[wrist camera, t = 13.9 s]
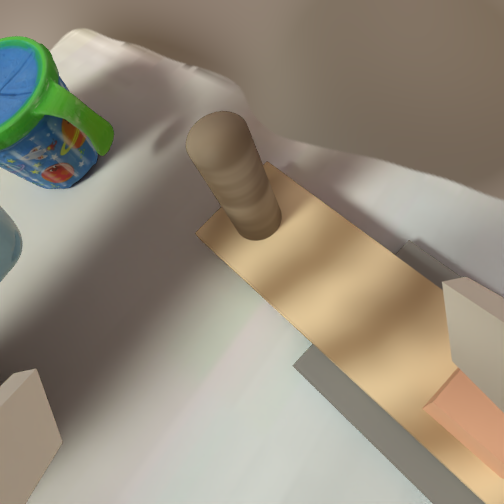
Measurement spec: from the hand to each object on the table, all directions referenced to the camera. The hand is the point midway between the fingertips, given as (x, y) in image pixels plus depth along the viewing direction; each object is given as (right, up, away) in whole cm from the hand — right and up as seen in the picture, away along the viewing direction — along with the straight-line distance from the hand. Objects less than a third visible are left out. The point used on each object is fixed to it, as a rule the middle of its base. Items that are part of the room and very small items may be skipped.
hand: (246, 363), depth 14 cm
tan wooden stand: (+8, -1, +16) cm, 18 cm away
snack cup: (-18, +13, +30) cm, 37 cm away
